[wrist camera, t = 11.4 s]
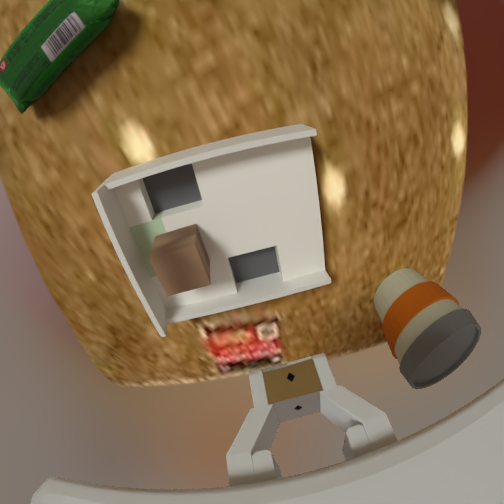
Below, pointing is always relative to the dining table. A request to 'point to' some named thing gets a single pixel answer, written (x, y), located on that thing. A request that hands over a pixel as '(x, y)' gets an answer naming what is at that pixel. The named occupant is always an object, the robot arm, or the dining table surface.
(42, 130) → the dining table surface
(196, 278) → the walnut cube
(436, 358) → the reusable coffee cup
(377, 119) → the dining table surface
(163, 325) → the box
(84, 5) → the snack package
